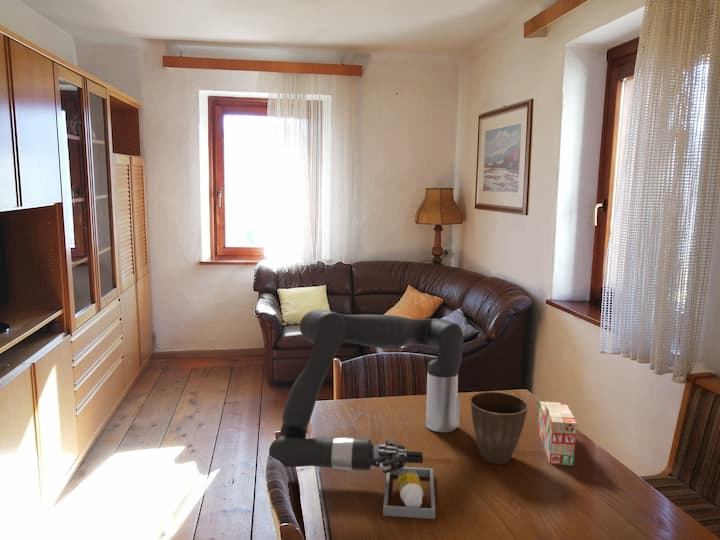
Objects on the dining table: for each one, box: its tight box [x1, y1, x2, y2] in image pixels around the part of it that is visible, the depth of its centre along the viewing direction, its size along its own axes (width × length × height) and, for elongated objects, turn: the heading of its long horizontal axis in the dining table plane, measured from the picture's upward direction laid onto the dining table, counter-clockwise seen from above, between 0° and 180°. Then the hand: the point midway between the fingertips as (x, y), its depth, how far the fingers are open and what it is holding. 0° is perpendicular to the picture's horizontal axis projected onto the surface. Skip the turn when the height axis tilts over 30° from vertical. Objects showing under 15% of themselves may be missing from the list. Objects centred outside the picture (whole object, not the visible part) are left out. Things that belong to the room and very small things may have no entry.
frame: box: [382, 466, 436, 520], centre depth 133 cm, size 19×12×2 cm, turn 174°
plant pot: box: [470, 391, 529, 465], centre depth 150 cm, size 15×15×16 cm
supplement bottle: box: [396, 470, 424, 508], centre depth 130 cm, size 5×5×10 cm
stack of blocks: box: [537, 401, 578, 466], centre depth 157 cm, size 21×6×12 cm, turn 171°
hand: (422, 457), depth 134 cm, fingers closed
